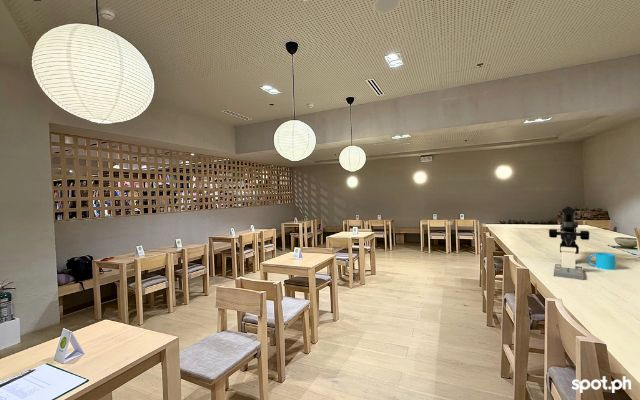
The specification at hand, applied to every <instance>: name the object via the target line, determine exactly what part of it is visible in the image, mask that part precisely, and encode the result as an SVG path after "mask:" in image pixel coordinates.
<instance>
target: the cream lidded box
mask: <svg viewBox="0 0 640 400" xmlns="http://www.w3.org/2000/svg"><path fill="white" fill-rule="evenodd" d="M561 251H562V253H561V260H562V261H561V265H562V267H564V268H573V269H575V266H576V264H575V262H576V254H575V252H576V248H571V247H561Z"/></svg>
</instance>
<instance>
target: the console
mask: <svg viewBox="0 0 640 400" xmlns="http://www.w3.org/2000/svg"><path fill="white" fill-rule="evenodd" d="M583 271H584V270H583V267H582V266H576V265H575V269H573V268H564V267H562V263H555V264H554V268H553V277H558V278H565V279H567V278H568V279H573V280H581V281H583V280H584V272H583Z"/></svg>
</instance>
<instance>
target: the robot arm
mask: <svg viewBox="0 0 640 400" xmlns="http://www.w3.org/2000/svg"><path fill="white" fill-rule="evenodd" d="M561 209H562V210H560V216H561V217H562V223H561V224H560V231H558V229H557V228H556V229H555V228H549V230H548V237H549V238H551V239H552V238H554V239H556V238H558V236H560V239H561V242H560V243H559V252H560V253H561V254H562V251H561V247H571V248H576V252H575V255H578V254H579V252H580V250H579V249H580V248H579V247H580V246H579V245H578V244H577V243H576V241H577V237H580V239H581V240H582V241H589V240H590V231H589V230H580V231H579V232H577V228H579V221H575V220H576V217H577V216H578V214H579V212H578V211H577V210H576V209H575V208H572V207H571V206H566V207H565V208H561ZM560 262H562V259H560ZM576 264H577V262H576V261H575V265H576Z"/></svg>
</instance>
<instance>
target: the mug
mask: <svg viewBox="0 0 640 400" xmlns="http://www.w3.org/2000/svg"><path fill="white" fill-rule="evenodd" d="M592 257H595V264H594V263H592V262H591V261H590V259H591V258H592ZM587 262H588V263H589V264H590V265H591V266H594V267H595V268H597V269H601V270H607V271H615V270H616V255H615V254H614V253H609V252H596V253H595V254H591V255H589V256H588V257H587Z"/></svg>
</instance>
